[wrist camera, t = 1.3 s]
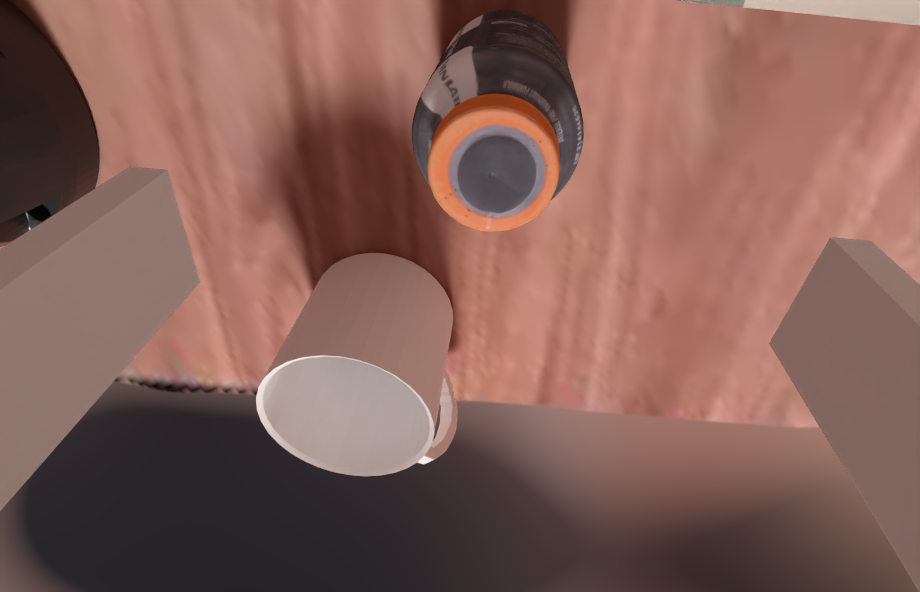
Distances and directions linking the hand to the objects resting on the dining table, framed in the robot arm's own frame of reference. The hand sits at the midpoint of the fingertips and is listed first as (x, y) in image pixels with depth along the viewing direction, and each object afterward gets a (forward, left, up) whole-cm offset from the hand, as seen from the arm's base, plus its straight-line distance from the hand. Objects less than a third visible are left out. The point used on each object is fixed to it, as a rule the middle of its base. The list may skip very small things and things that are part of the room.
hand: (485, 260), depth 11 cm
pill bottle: (0, 0, -17) cm, 17 cm away
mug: (-5, -16, -17) cm, 24 cm away
